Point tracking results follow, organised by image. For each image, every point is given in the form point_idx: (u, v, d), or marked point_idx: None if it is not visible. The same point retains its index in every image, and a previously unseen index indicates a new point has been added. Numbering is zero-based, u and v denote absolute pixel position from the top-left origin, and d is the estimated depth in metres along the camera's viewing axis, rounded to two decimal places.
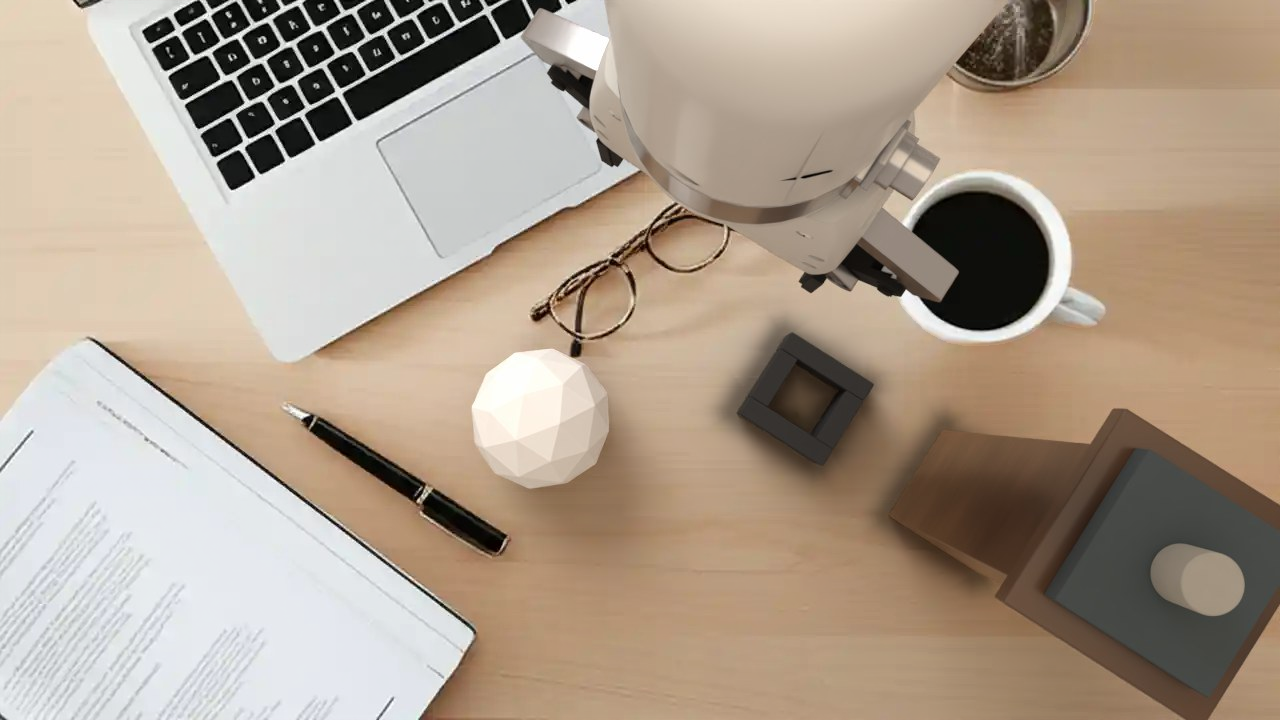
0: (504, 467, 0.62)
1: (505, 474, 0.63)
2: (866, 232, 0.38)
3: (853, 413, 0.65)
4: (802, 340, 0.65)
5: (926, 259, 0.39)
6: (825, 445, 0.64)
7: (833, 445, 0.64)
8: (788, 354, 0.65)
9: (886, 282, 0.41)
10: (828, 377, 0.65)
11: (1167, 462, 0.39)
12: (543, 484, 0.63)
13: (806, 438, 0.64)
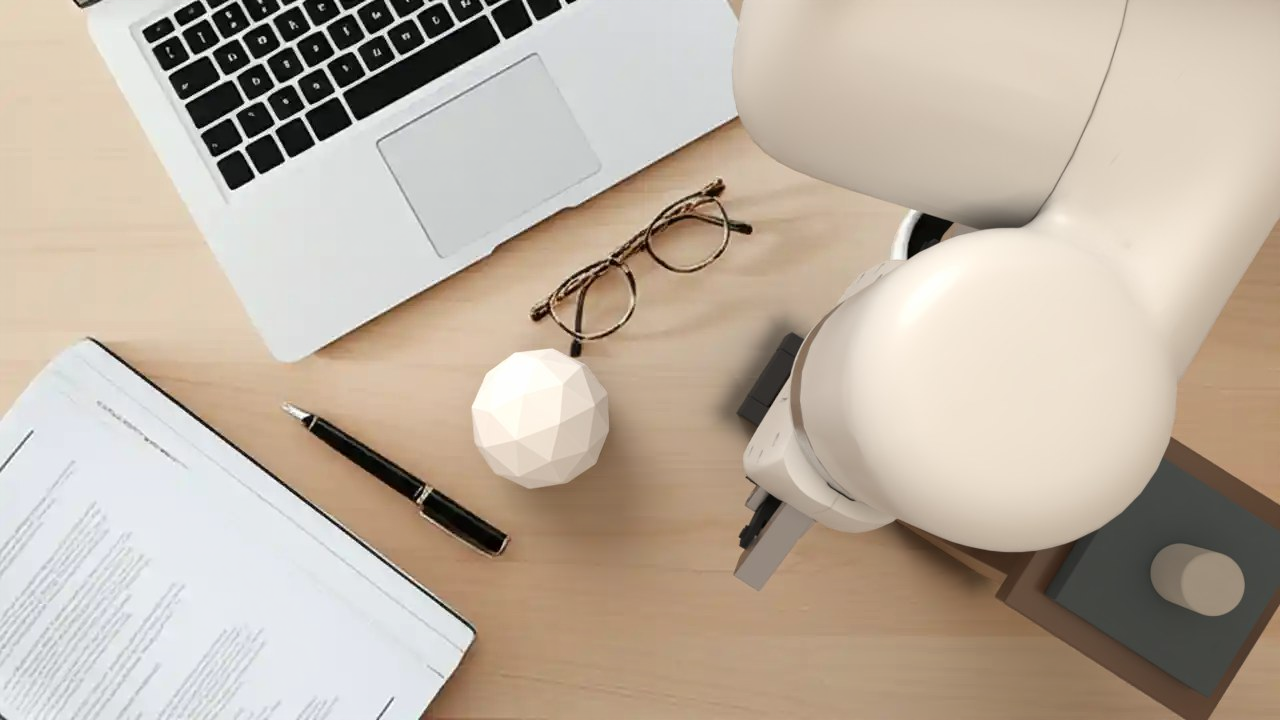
0: (504, 467, 0.62)
1: (505, 474, 0.63)
2: None
3: None
4: (802, 340, 0.65)
5: None
6: None
7: None
8: (788, 354, 0.65)
9: None
10: None
11: (1167, 462, 0.39)
12: (543, 484, 0.63)
13: None
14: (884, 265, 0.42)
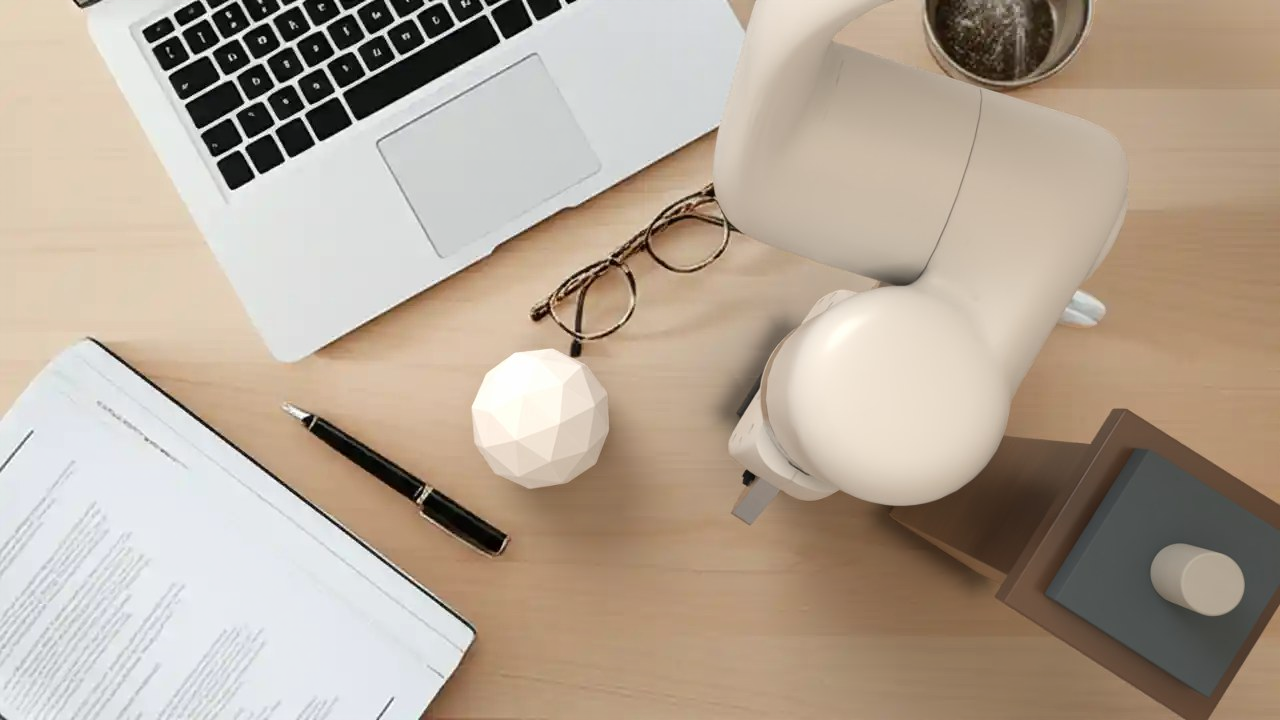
0: (504, 467, 0.62)
1: (505, 474, 0.63)
2: None
3: None
4: None
5: None
6: None
7: None
8: None
9: None
10: None
11: (1167, 462, 0.39)
12: (543, 484, 0.63)
13: None
14: (835, 294, 0.54)
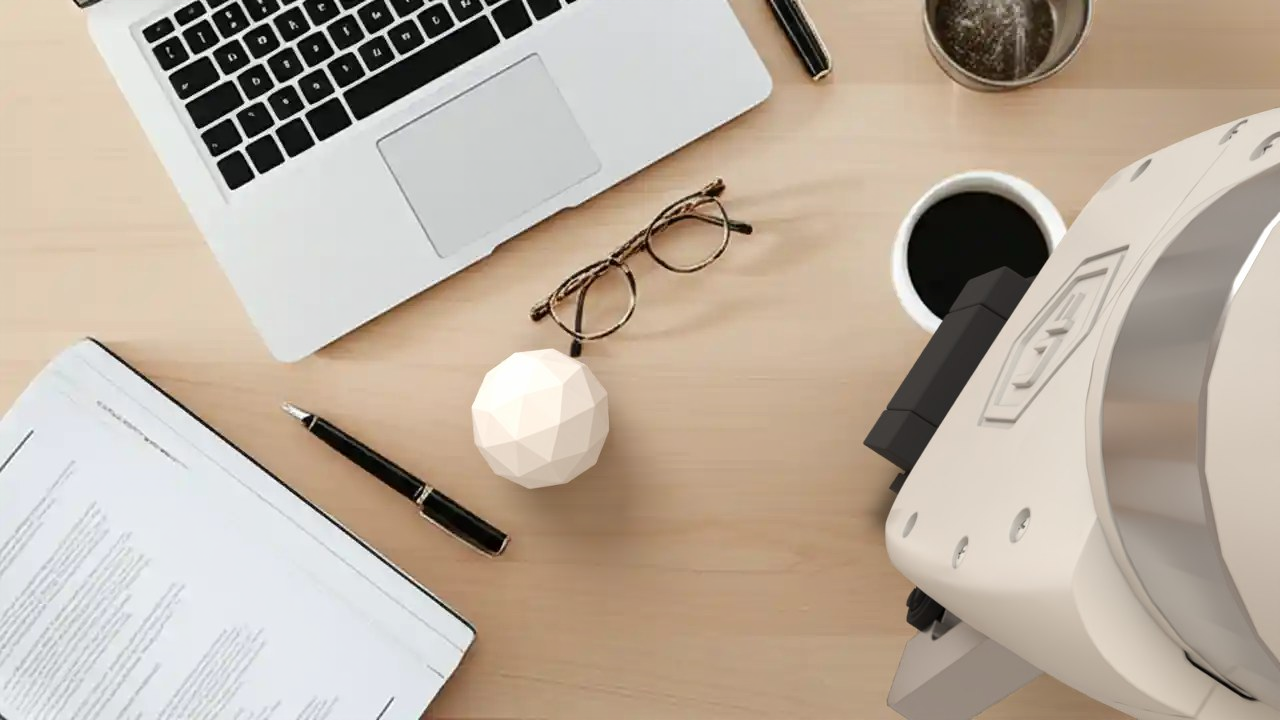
0: (504, 467, 0.62)
1: (505, 474, 0.63)
2: None
3: None
4: (1028, 284, 0.29)
5: None
6: None
7: None
8: (996, 316, 0.29)
9: None
10: None
11: None
12: (543, 484, 0.63)
13: None
14: (1256, 120, 0.18)
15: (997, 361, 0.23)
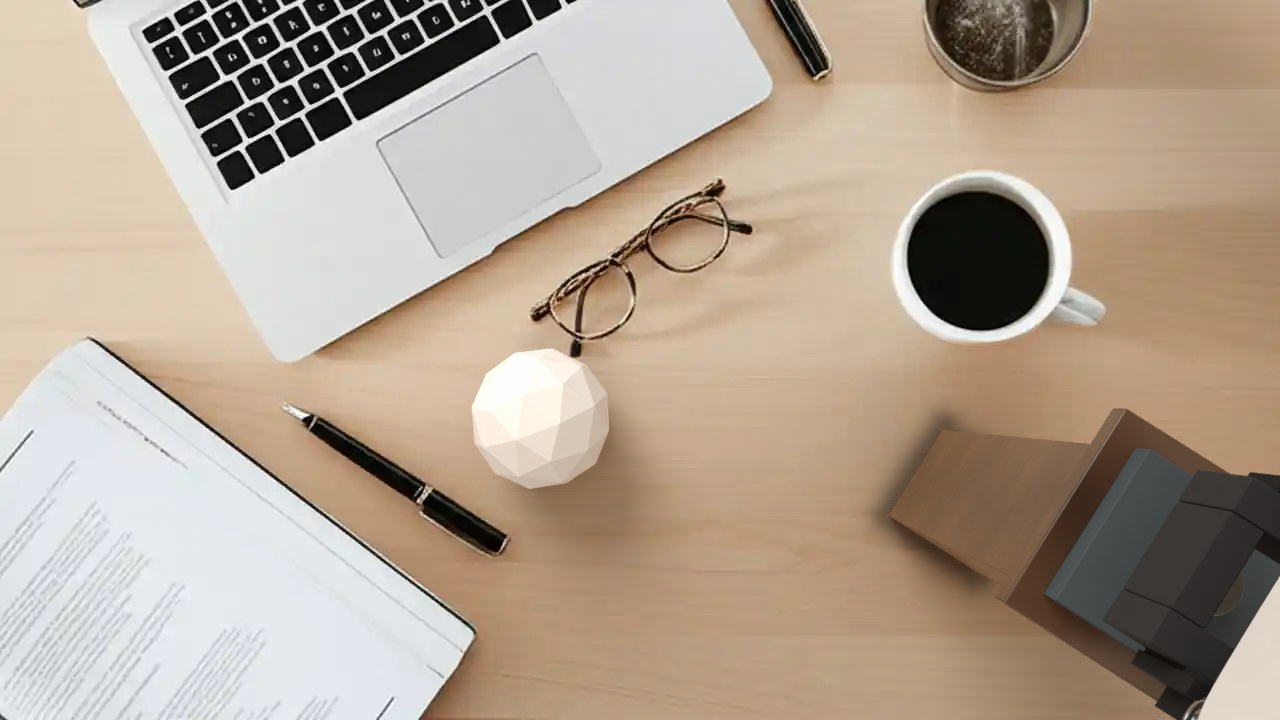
0: (504, 467, 0.62)
1: (505, 474, 0.63)
2: None
3: None
4: (1274, 493, 0.32)
5: None
6: None
7: None
8: (1246, 522, 0.32)
9: None
10: None
11: (1167, 462, 0.39)
12: (543, 484, 0.63)
13: None
14: None
15: None
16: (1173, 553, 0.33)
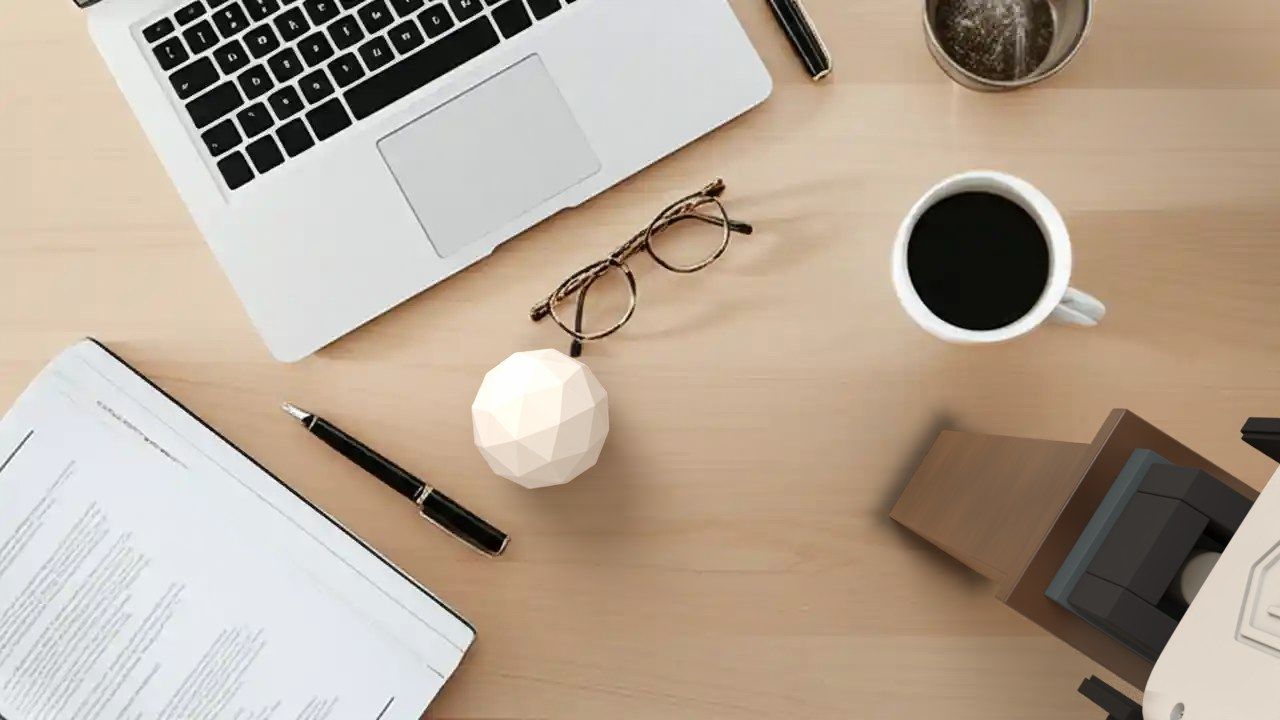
0: (504, 467, 0.62)
1: (505, 474, 0.63)
2: None
3: None
4: (1219, 483, 0.35)
5: None
6: None
7: None
8: (1193, 509, 0.35)
9: None
10: None
11: (1167, 462, 0.39)
12: (543, 484, 0.63)
13: None
14: None
15: (1237, 578, 0.29)
16: (1129, 538, 0.37)
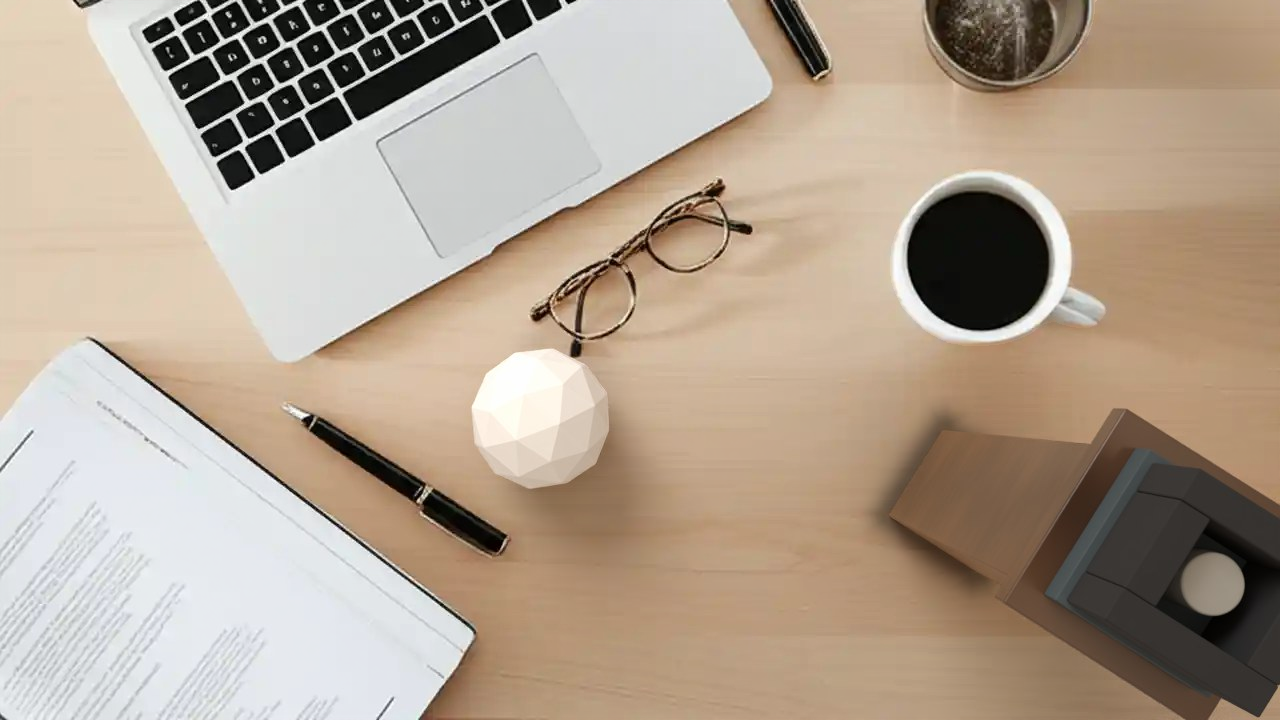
0: (504, 467, 0.62)
1: (505, 474, 0.63)
2: None
3: None
4: (1219, 483, 0.35)
5: None
6: (1265, 679, 0.35)
7: None
8: (1193, 509, 0.35)
9: None
10: (1268, 552, 0.35)
11: (1167, 462, 0.39)
12: (543, 484, 0.63)
13: (1228, 665, 0.35)
14: None
15: None
16: (1129, 538, 0.37)
